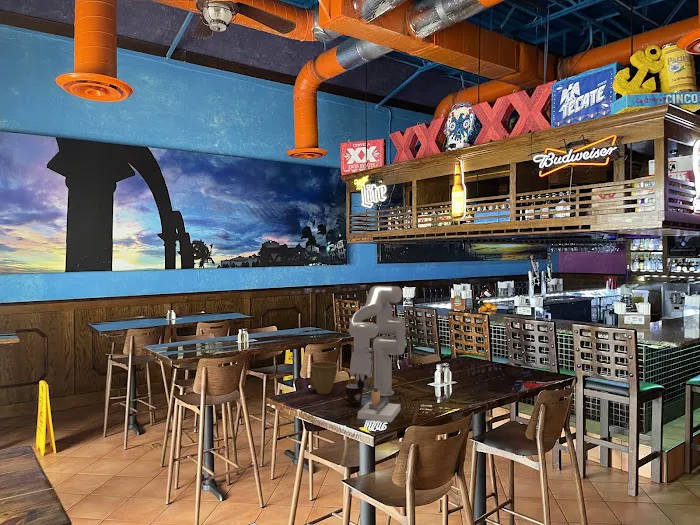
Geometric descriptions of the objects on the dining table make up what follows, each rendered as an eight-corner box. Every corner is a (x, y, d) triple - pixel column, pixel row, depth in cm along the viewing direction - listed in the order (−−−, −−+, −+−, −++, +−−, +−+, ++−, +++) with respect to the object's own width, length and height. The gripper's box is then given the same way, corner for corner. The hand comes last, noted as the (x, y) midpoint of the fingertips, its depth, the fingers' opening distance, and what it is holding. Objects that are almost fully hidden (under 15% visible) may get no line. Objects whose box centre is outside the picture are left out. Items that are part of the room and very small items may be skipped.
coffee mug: (362, 403, 271) (362, 384, 271) (363, 408, 263) (363, 388, 262) (339, 403, 271) (340, 384, 271) (340, 408, 262) (340, 388, 262)
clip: (384, 402, 262) (384, 396, 262) (388, 403, 261) (388, 397, 261) (374, 413, 243) (374, 407, 243) (379, 413, 243) (379, 407, 243)
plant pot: (318, 397, 281) (318, 367, 281) (306, 391, 294) (306, 362, 294) (342, 394, 289) (342, 365, 289) (329, 388, 302) (329, 360, 301)
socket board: (369, 407, 265) (369, 401, 265) (400, 410, 260) (400, 404, 260) (357, 418, 246) (357, 412, 246) (391, 422, 241) (391, 415, 241)
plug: (370, 411, 258) (371, 386, 257) (383, 412, 256) (383, 387, 255) (367, 415, 251) (367, 389, 251) (380, 416, 249) (380, 391, 249)
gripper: (378, 350, 251) (377, 388, 251) (348, 348, 256) (348, 385, 256) (374, 352, 244) (373, 392, 244) (344, 350, 249) (343, 389, 249)
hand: (360, 388), depth 250 cm, fingers closed
